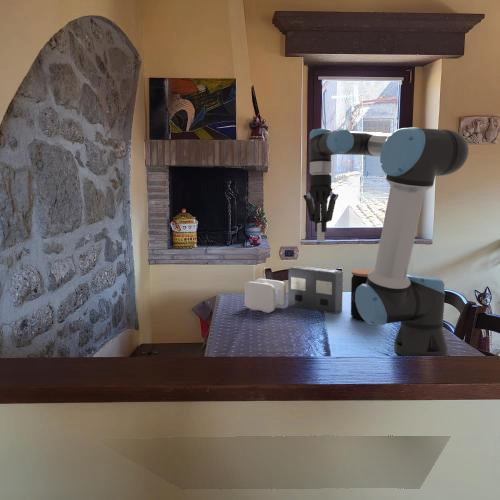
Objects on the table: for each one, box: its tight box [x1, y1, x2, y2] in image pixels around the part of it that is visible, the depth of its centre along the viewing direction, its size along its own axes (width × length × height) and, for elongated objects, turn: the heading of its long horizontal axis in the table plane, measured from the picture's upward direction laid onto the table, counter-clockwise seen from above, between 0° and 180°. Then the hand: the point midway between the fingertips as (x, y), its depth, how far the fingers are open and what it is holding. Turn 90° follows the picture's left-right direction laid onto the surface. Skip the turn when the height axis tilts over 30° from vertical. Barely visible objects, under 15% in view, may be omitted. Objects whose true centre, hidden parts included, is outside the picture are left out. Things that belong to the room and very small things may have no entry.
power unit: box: [287, 265, 344, 314], centre depth 184 cm, size 6×22×16 cm, turn 52°
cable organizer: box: [244, 278, 287, 314], centre depth 184 cm, size 15×11×12 cm
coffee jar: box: [350, 268, 374, 323], centre depth 169 cm, size 11×11×18 cm
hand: (320, 241), depth 160 cm, fingers closed
